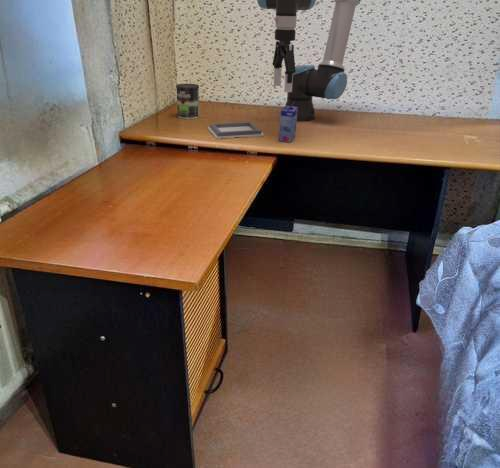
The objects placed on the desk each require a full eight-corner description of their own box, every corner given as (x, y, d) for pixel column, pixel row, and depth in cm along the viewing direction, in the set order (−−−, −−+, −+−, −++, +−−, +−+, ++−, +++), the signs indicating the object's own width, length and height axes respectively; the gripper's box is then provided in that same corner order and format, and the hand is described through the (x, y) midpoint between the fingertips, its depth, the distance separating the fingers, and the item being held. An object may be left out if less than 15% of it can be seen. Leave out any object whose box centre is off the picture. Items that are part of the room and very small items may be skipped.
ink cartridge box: (292, 143, 187) (294, 105, 180) (278, 141, 188) (280, 104, 181) (296, 136, 195) (298, 100, 189) (283, 135, 196) (284, 99, 190)
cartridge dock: (252, 126, 208) (252, 121, 207) (264, 136, 195) (264, 130, 194) (207, 129, 203) (207, 123, 202) (215, 139, 189) (215, 133, 188)
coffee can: (193, 120, 217) (192, 88, 210) (173, 117, 220) (171, 86, 214) (203, 115, 225) (202, 84, 219) (184, 113, 229) (183, 82, 222)
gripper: (265, 26, 184) (264, 83, 193) (286, 31, 162) (283, 95, 172) (284, 26, 186) (281, 83, 195) (307, 31, 164) (302, 94, 174)
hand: (282, 88), depth 183 cm, fingers open, 13 cm apart
